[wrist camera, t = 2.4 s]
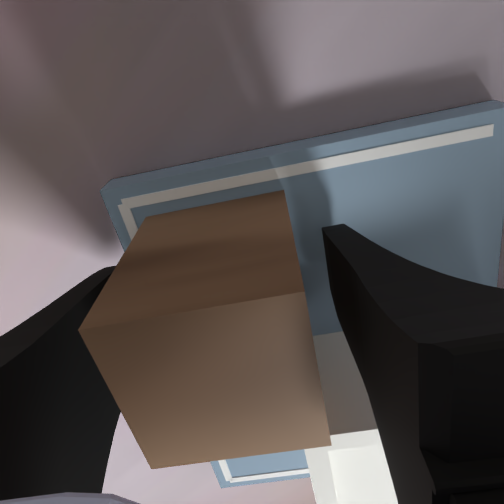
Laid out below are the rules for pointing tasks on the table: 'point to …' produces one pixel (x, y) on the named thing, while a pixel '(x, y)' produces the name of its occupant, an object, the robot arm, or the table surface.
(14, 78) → the table surface
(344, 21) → the table surface
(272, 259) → the walnut block
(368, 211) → the blueprint board
